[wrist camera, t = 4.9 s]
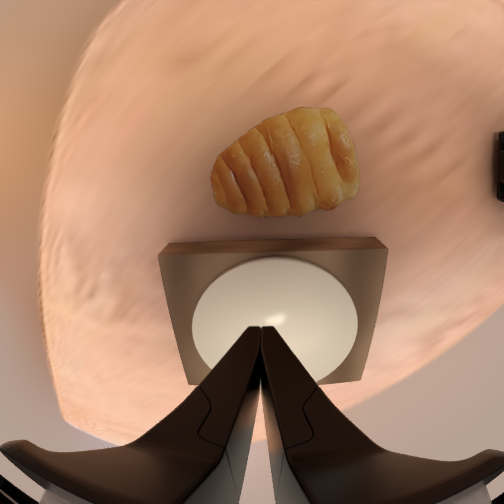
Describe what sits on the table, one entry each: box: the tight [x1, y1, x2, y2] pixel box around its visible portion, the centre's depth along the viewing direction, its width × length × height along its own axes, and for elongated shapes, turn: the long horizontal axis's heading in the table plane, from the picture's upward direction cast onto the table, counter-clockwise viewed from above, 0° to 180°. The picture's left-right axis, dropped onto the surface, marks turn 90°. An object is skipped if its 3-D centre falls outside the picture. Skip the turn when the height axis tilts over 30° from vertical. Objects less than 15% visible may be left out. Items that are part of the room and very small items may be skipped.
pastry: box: [211, 107, 360, 217], centre depth 16 cm, size 9×7×4 cm
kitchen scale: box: [158, 237, 388, 391], centre depth 21 cm, size 16×13×3 cm
